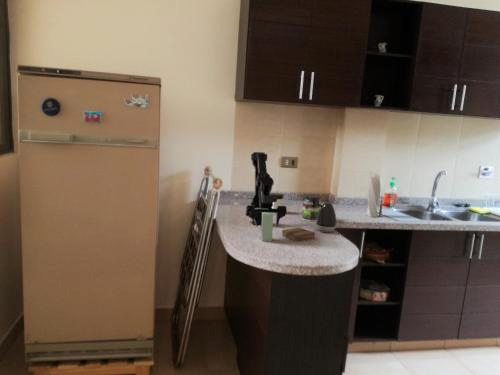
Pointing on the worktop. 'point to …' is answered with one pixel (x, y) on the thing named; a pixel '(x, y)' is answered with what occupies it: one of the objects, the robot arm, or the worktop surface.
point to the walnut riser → (298, 234)
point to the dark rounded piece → (326, 218)
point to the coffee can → (311, 207)
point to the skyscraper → (374, 197)
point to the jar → (278, 201)
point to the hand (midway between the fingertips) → (267, 226)
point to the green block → (266, 226)
